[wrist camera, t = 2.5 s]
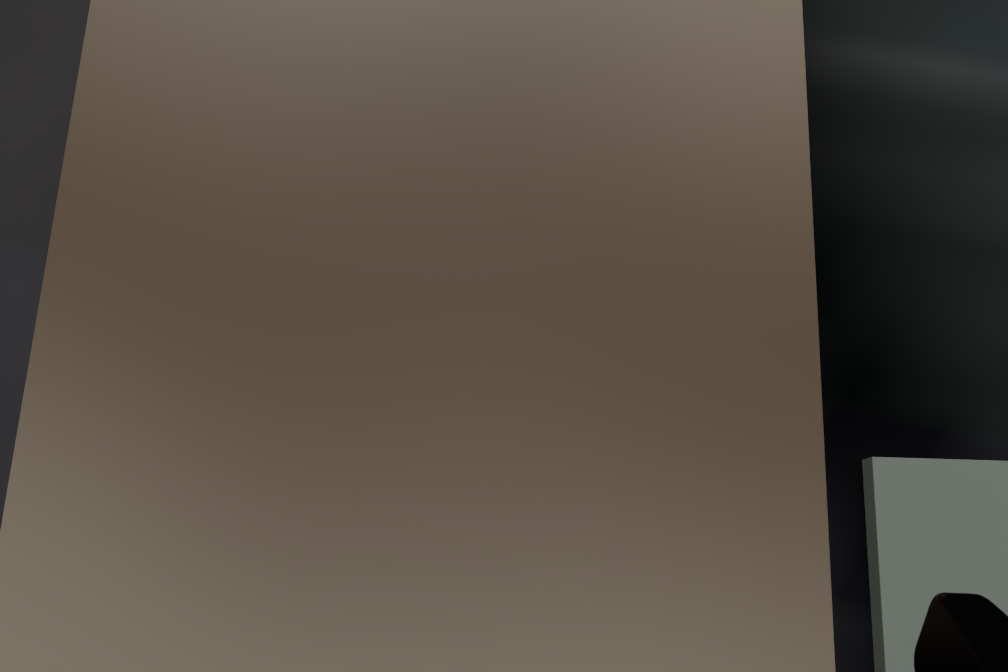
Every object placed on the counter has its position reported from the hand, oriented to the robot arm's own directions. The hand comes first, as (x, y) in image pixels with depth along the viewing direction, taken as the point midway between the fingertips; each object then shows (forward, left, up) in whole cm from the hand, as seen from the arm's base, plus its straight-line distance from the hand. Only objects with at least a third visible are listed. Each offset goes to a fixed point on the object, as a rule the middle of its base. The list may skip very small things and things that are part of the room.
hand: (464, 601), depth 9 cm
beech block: (+2, -1, -9) cm, 10 cm away
